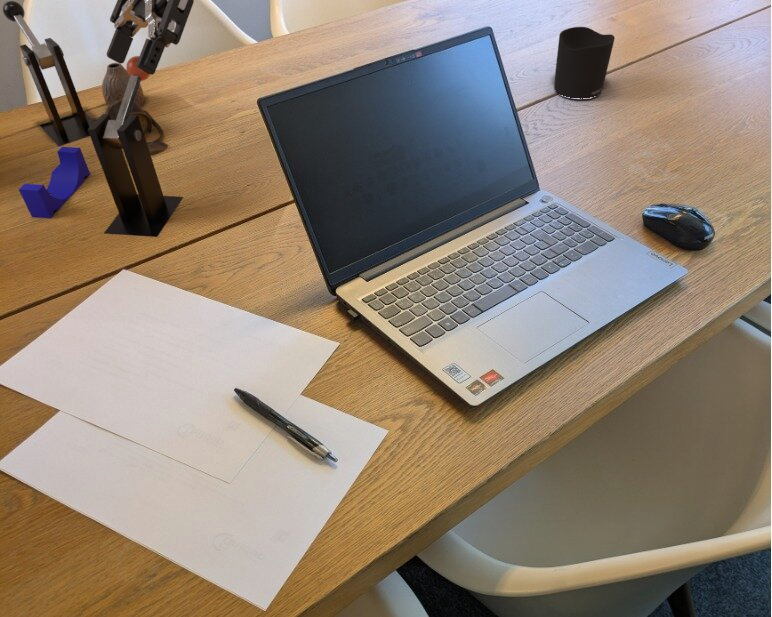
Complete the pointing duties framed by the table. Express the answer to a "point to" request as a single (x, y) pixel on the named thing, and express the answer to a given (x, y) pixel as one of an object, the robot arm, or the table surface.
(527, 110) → the table surface
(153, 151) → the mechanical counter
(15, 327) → the table surface
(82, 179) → the blue curved cradle
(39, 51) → the back lever
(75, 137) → the back bracket
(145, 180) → the front bracket
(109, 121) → the front lever
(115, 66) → the vase
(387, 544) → the table surface
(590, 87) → the pen holder
